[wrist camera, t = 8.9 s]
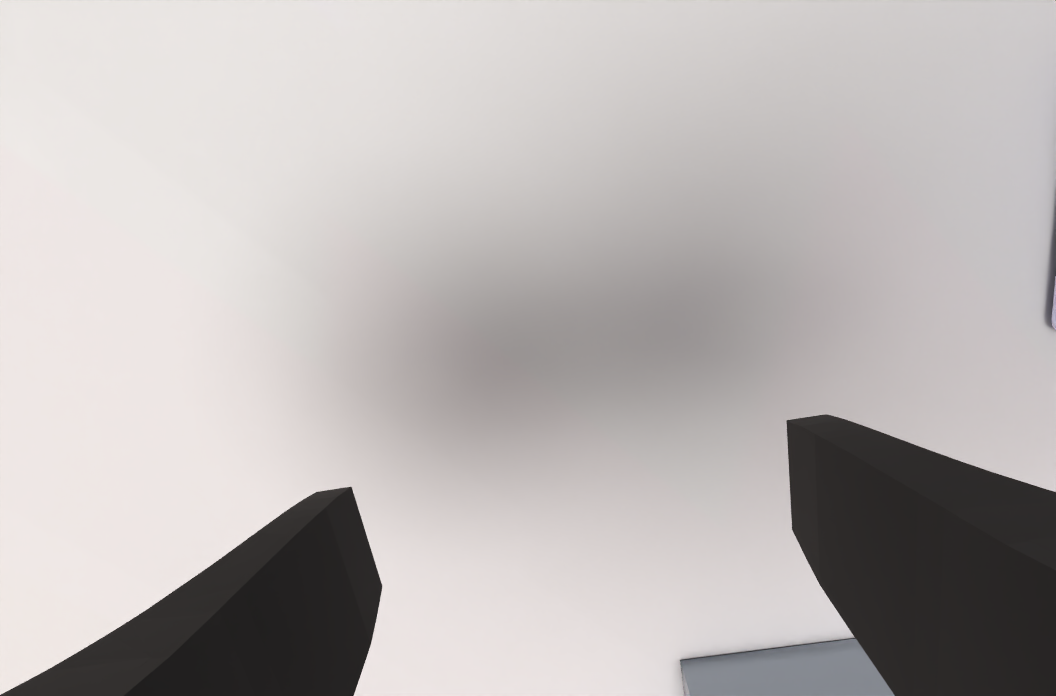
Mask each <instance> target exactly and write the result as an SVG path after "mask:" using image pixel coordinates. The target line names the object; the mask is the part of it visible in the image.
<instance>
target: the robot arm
mask: <svg viewBox="0 0 1056 696" xmlns="http://www.w3.org/2000/svg"><path fill="white" fill-rule="evenodd" d="M1052 326H1053V327H1054V329H1055V330H1056V278H1055V289H1054V299H1053V310H1052ZM787 437H788V456H789V476H790V495H791V514H792V530H793V532H794V534H795V536H796V538H797V540H798V542H799V544H800V546H801V548H802V551H803V553H804V555H805V557H806V559H807V561H808V563H809V565H810V567H811V568H812V570H813V572H814V574H815V576H816V578H817V580H818V582H819V584H820V586H821V587H822V589H823V590H824V592H825V593H826V595H827V596H828V598H829V599H830V601H831V602H832V604H833V605H834V607H835V608H836V610H837V611H838V613H839V614H840V616H841V617H842V619H843V620H844V622H845V623H846V625H847V626H848V628H849V629H850V631H851V632H852V634H853V635H854V637H855V638H856V639H857V641H858V642H859V644H860V645H861V647H862V648H863V650H864V651H865V653H866V654H867V656H868V657H869V659H870V660H871V661H872V663H873V664H874V666H875V667H876V669H877V670H878V672H879V673H880V675H881V676H882V678H883V679H884V681H885V682H886V683H887V685H888V686H889V688H890V689H891V691H892V692H893V694H894V695H895V696H1056V492H1053V491H1050V490H1047V489H1043V488H1040V487H1037V486H1034V485H1031V484H1028V483H1024V482H1021V481H1018V480H1015V479H1012V478H1009V477H1005V476H1002V475H999V474H996V473H993V472H990V471H987V470H984V469H981V468H978V467H975V466H972V465H969V464H966V463H963V462H961V461H958V460H955V459H952V458H949V457H947V456H944V455H941V454H938V453H935V452H933V451H930V450H927V449H925V448H922V447H919V446H916V445H914V444H911V443H908V442H906V441H903V440H900V439H898V438H895V437H892V436H889V435H887V434H884V433H881V432H879V431H876V430H873V429H871V428H868V427H865V426H862V425H859V424H857V423H854V422H851V421H848V420H845V419H841V418H838V417H834V416H830V415H819V416H812V417H806V418H799V419H793V420H787ZM381 591H382V584H381V581H380V577H379V574H378V571H377V568H376V565H375V561H374V558H373V555H372V552H371V548H370V545H369V542H368V539H367V536H366V532H365V529H364V526H363V523H362V519H361V516H360V513H359V510H358V507H357V503H356V500H355V497H354V494H353V490H352V487H347V488H340V489H334V490H327V491H321V492H316V493H314V494H312V495H311V496H309V497H307V498H305V499H304V500H302V501H300V502H299V503H297V504H296V505H294V506H293V507H291V508H290V509H289V510H287V511H286V512H284V513H283V514H281V515H280V516H279V517H277V518H276V519H274V520H273V521H272V522H270V523H269V524H267V525H266V526H265V527H263V528H262V529H261V530H259V531H258V532H257V533H255V534H254V535H252V536H251V537H250V538H248V539H247V540H246V541H244V542H243V543H241V544H240V545H239V546H237V547H236V548H235V549H233V550H232V551H230V552H229V553H228V554H226V555H225V556H224V557H222V558H221V559H219V560H218V561H217V562H215V563H214V564H213V565H211V566H210V567H208V568H207V569H205V570H204V571H203V572H201V573H200V574H198V575H197V576H195V577H194V578H192V579H191V580H189V581H188V582H187V583H185V584H184V585H182V586H181V587H179V588H178V589H176V590H175V591H173V592H172V593H171V594H169V595H168V596H166V597H165V598H163V599H162V600H160V601H159V602H157V603H156V604H155V605H153V606H152V607H150V608H149V609H147V610H146V611H144V612H143V613H141V614H139V615H138V616H136V617H135V618H133V619H132V620H130V621H129V622H127V623H125V624H124V625H122V626H121V627H119V628H117V629H116V630H114V631H113V632H111V633H109V634H108V635H106V636H105V637H103V638H101V639H99V640H98V641H96V642H94V643H93V644H91V645H89V646H88V647H86V648H84V649H83V650H81V651H79V652H78V653H76V654H74V655H73V656H71V657H69V658H67V659H66V660H64V661H62V662H61V663H59V664H57V665H55V666H54V667H52V668H50V669H48V670H47V671H45V672H43V673H41V674H39V675H37V676H35V677H33V678H32V679H30V680H28V681H26V682H24V683H22V684H20V685H18V686H16V687H15V688H13V689H11V690H9V691H7V692H5V693H3V694H1V695H0V696H353V695H354V693H355V690H356V687H357V684H358V681H359V678H360V675H361V672H362V669H363V666H364V663H365V660H366V657H367V654H368V651H369V648H370V645H371V641H372V636H373V632H374V627H375V622H376V618H377V613H378V607H379V602H380V596H381Z"/></svg>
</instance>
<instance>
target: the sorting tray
mask: <svg viewBox="0 0 1056 696" xmlns="http://www.w3.org/2000/svg"><path fill="white" fill-rule="evenodd" d="M680 662H681V670H682V678H683V685H684V693H685V696H895V695H894V694H893V692H892V691H891V689H890V688H889V686H888V685H887V683H886V682H885V681H884V679H883V678H882V676H881V675H880V673H879V672H878V670H877V669H876V667H875V666H874V664H873V663H872V661H871V660H870V659H869V657H868V656H867V654H866V653H865V651H864V650H863V648H862V647H861V645H860V644H859V642H858V641H857V639H848V640H840V641H832V642H824V643H816V644H808V645H800V646H792V647H784V648H776V649H768V650H760V651H752V652H744V653H736V654H728V655H720V656H712V657H704V658H696V659H688V660H680Z"/></svg>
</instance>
